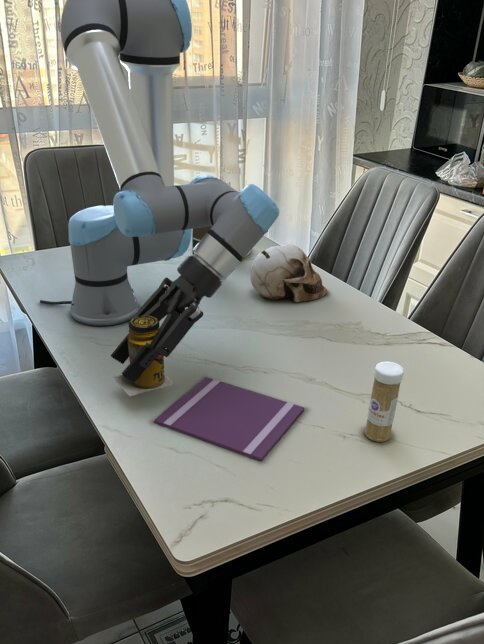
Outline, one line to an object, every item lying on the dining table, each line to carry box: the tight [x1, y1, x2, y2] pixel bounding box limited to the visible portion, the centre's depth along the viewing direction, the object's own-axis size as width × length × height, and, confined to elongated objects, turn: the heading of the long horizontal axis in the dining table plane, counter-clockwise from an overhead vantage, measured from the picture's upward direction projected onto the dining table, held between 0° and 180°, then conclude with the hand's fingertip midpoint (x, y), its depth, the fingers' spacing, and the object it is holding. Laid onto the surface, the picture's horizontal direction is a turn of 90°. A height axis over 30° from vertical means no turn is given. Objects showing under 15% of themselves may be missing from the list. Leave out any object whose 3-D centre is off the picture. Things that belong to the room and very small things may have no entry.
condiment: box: [113, 315, 174, 398], centre depth 106 cm, size 7×8×12 cm
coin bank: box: [250, 243, 328, 303], centre depth 150 cm, size 16×17×13 cm
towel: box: [153, 376, 305, 462], centre depth 107 cm, size 21×17×1 cm
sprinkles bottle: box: [364, 360, 405, 443], centre depth 100 cm, size 5×5×13 cm
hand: (122, 368), depth 106 cm, fingers closed on condiment, 6 cm apart
